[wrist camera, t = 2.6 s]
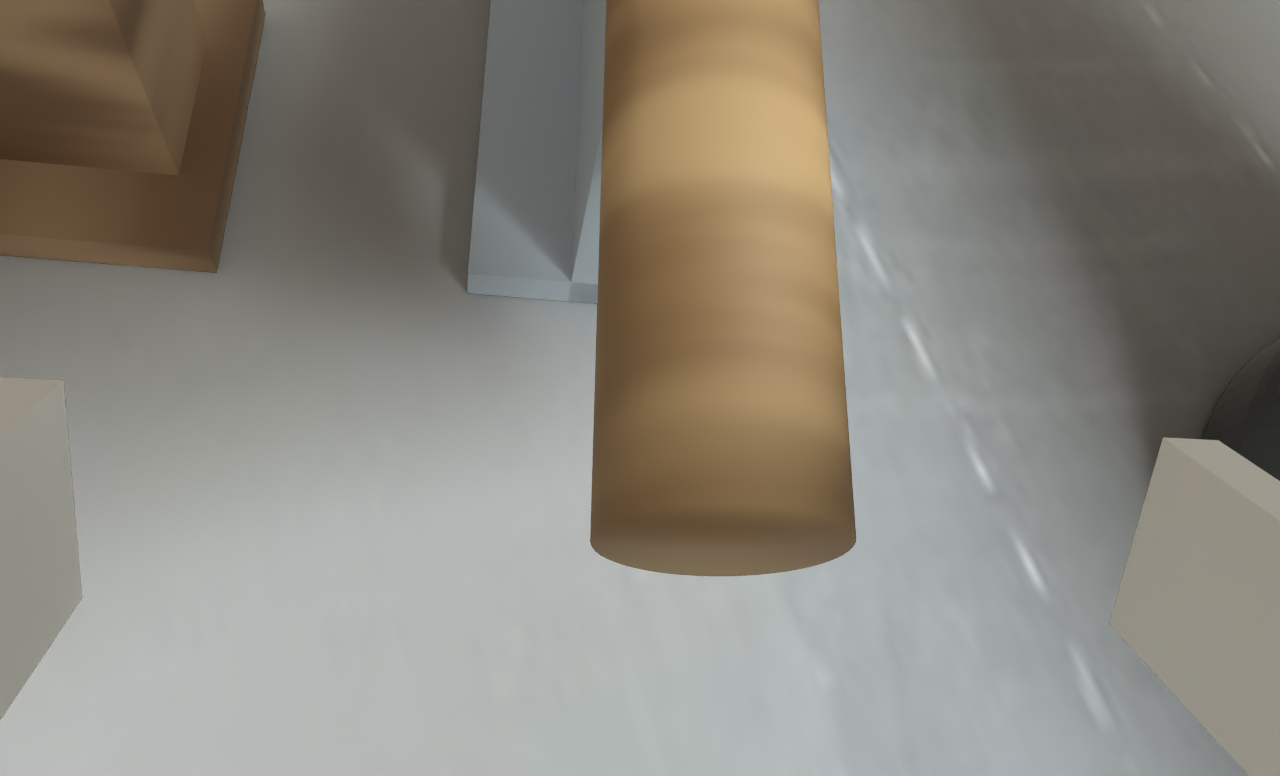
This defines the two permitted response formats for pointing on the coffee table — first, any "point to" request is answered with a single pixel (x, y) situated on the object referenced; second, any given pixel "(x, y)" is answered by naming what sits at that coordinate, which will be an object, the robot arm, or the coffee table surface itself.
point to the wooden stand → (122, 127)
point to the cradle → (540, 152)
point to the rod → (718, 295)
